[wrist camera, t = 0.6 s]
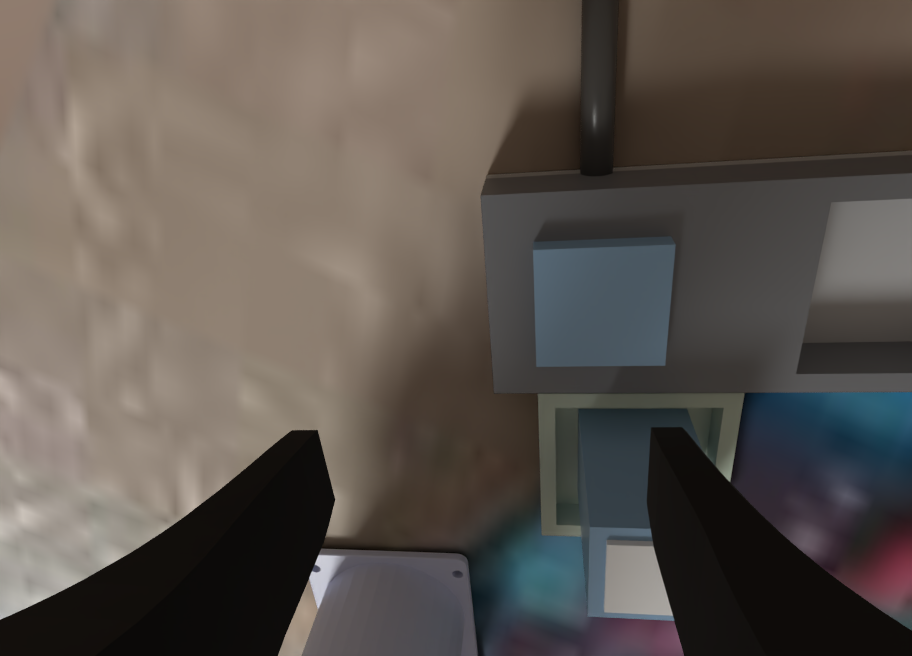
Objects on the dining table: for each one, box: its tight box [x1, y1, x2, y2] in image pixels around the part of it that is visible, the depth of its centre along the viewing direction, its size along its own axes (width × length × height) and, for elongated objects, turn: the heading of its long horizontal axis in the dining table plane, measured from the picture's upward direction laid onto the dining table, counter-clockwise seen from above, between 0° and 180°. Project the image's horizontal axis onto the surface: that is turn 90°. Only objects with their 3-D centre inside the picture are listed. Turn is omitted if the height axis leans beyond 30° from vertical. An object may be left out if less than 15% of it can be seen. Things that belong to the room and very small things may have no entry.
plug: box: [577, 409, 702, 621], centre depth 21 cm, size 4×4×6 cm
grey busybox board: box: [481, 0, 912, 393], centre depth 18 cm, size 12×16×3 cm
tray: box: [538, 393, 745, 536], centre depth 23 cm, size 7×7×2 cm
